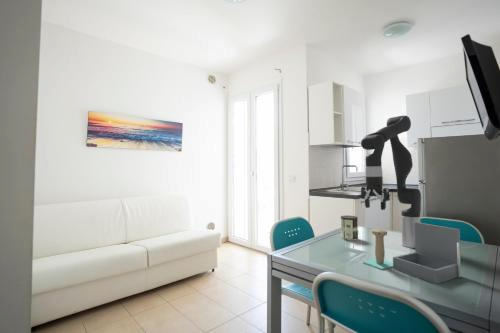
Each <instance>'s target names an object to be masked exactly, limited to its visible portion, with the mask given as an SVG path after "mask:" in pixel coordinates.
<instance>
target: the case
mask: <svg viewBox="0 0 500 333" xmlns="http://www.w3.org/2000/svg"><path fill="white" fill-rule="evenodd" d="M460 230H461V229H459V228H454V227H449V226H448V227H447V226H441V225H434V224H429V223H424V222H423V223H422V222H420V223H418V222H415V248H414V250H415V251H414V252H410V253H406V254H402V255H398V256H397V255H396V256H393V257H392V263H393V267H392V268H393V269H394V270H396V271H399V272H401V273H405V274H408V275H410V276H413V277H416V278H419V279H422V280H424V281H427V282H430V283H433V284H441V283H443V282H446V281H449V280H452V279H455V278H459V279H460V278H461V262H462V259H461V258H462V257H461V256H462V255H461V254H462V253H461V231H460Z"/></svg>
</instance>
